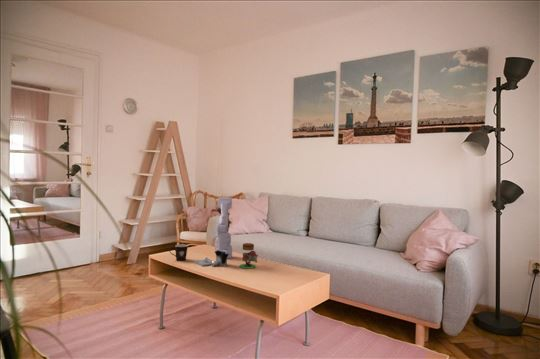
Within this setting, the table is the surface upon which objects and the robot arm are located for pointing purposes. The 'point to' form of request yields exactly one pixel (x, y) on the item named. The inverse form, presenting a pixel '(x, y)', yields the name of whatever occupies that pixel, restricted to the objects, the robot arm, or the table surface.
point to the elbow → (218, 261)
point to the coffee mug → (180, 252)
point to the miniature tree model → (249, 256)
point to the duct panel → (204, 262)
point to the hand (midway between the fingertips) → (221, 262)
